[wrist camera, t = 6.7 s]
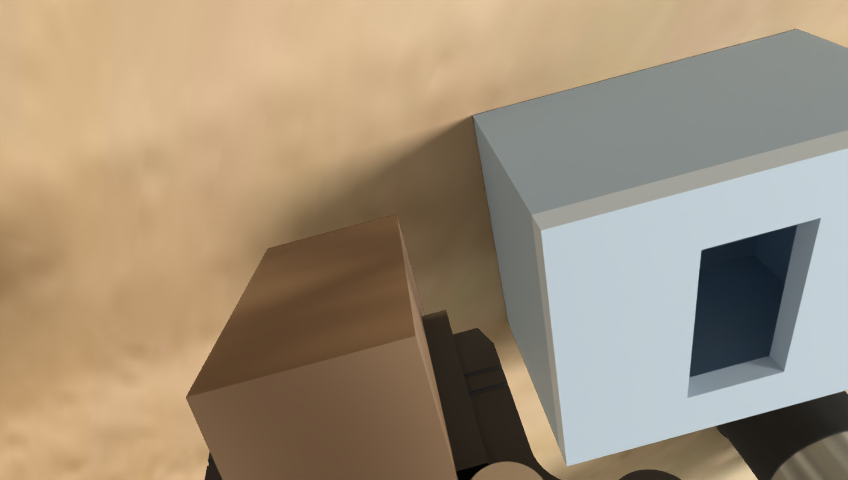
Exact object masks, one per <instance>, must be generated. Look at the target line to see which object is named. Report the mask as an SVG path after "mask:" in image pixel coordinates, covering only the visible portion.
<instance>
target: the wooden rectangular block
mask: <svg viewBox="0 0 848 480" xmlns="http://www.w3.org/2000/svg"><path fill="white" fill-rule="evenodd" d="M422 316H425V315H424V311H423V308H422V304H421V300H420V297H419V293H418V289H417V286H416V282H415V279H414V275H413V271H412V268H411V264H410V261H409V257H408V253H407V250H406V246H405V242H404V239H403V235H402V232H401V228H400V224H399V221H398V217H397V214H396V215H392V216H388V217H384V218H381V219H377V220H373V221H369V222H366V223H362V224H358V225H354V226H351V227H347V228H343V229H339V230H336V231H332V232H328V233H324V234H321V235H317V236H313V237H309V238H306V239H302V240H298V241H294V242H291V243H287V244H283V245H279V246H276V247H272V248H268V249H267V251H266V253H265V255H264V257H263V258H262V260H261V262H260V264H259V266H258V267H257V269H256V271H255V273H254V275H253V276H252V278H251V280H250V282H249V284H248V286H247V287H246V289H245V291H244V293H243V295H242V296H241V298H240V300H239V302H238V304H237V306H236V307H235V309H234V311H233V313H232V315H231V316H230V318H229V320H228V322H227V324H226V325H225V327H224V329H223V331H222V333H221V335H220V336H219V338H218V340H217V342H216V344H215V345H214V347H213V349H212V351H211V353H210V354H209V356H208V358H207V360H206V362H205V364H204V365H203V367H202V369H201V371H200V373H199V374H198V376H197V378H196V380H195V382H194V384H193V385H192V387H191V389H190V391H189V393H188V394H187V396H186V399H187V401H188V403H189V406H190V408H191V410H192V412H193V415H194V417H195V419H196V421H197V424H198V426H199V428H200V430H201V433H202V435H203V437H204V439H205V442H206V444H207V446H208V448H209V451H210V453H211V455H212V457H213V460H214V462H215V464H216V466H217V468H218V471H219V473H220V475H221V477H222V480H459V479H458V476H457V473H456V469H455V465H454V460H453V456H452V451H451V447H450V442H449V438H448V433H447V429H446V425H445V420H444V416H443V411H442V407H441V402H440V398H439V393H438V389H437V384H436V380H435V376H434V371H433V367H432V362H431V358H430V353H429V349H428V344H427V340H426V335H425V331H424V327H423V322H422Z"/></svg>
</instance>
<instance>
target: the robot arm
mask: <svg viewBox="0 0 848 480" xmlns="http://www.w3.org/2000/svg"><path fill="white" fill-rule="evenodd" d="M422 322H423V327H424V331H425V335H426V340H427V344H428V349H429V353H430V358H431V362H432V367H433V371H434V376H435V380H436V384H437V389H438V393H439V398H440V402H441V407H442V411H443V416H444V420H445V425H446V429H447V433H448V438H449V442H450V447H451V451H452V456H453V460H454V465H455V469H456V473H457V476H458V479H459V480H560V479H558V478H556V477H554V476H553V475H551V474H549V473H548V472H547V471H546V470H545V469H543V468H542V466H541V465H540V464H539V463H538V462H537V460H536V459H535V457H534V455H533V453H532V451H531V448H530V445H529V443H528V440H527V437H526V434H525V431H524V428H523V426H522V423H521V420H520V417H519V414H518V411H517V409H516V406H515V403H514V400H513V397H512V394H511V391H510V389H509V386H508V383H507V380H506V377H505V374H504V372H503V369H502V366H501V363H500V360H499V357H498V355H497V352H496V349H495V346H494V343H493V342H491V341H490V340H489V339H488V338H487V337H486V336H485V335H484V334H483V333H482V332H481V331H480V330H479V329H478V328H476V329H472V330H468V331H464V332H461V333H457V334H452V330H451V327H450V323H449V319H448V316H447V312H446V310H444V311H440V312H436V313H433V314H429V315H425V316H422ZM208 462H209V466H207V470H206V476H205V480H222V477H221V475H220V473H219V471H218V468H217V466H216V464H215V462H214V460H213V457H212V455H211V453H209V459H208ZM619 480H681V479H679V478H678V477H676V476H674V475H672V474H669V473H666V472H663V471H658V470H638V471H635V472H631V473H629V474H627V475H625V476H623V477H622V478H621V479H619Z"/></svg>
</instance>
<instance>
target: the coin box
mask: <svg viewBox="0 0 848 480" xmlns="http://www.w3.org/2000/svg"><path fill="white" fill-rule="evenodd" d="M473 119H474V125H475V131H476V137H477V143H478V149H479V154H480V160H481V166H482V172H483V178H484V184H485V189H486V195H487V201H488V207H489V213H490V219H491V224H492V230H493V236H494V242H495V248H496V254H497V259H498V265H499V271H500V277H501V283H502V289H503V294H504V300H505V306H506V312H507V318H508V323H509V326H510V328H511V331H512V333H513V336H514V338H515V341H516V343H517V345H518V348H519V350H520V353H521V355H522V358H523V360H524V363H525V365H526V367H527V370H528V372H529V375H530V377H531V380H532V382H533V385H534V387H535V390H536V392H537V394H538V397H539V399H540V402H541V404H542V407H543V409H544V412H545V414H546V416H547V419H548V421H549V424H550V426H551V429H552V431H553V434H554V436H555V438H556V441H557V443H558V446H559V448H560V451H561V453H562V456H563V458H564V460H565V463H566V465H567V466H570V465H574V464H578V463H581V462H585V461H589V460H592V459H596V458H600V457H603V456H607V455H611V454H614V453H618V452H622V451H625V450H629V449H633V448H636V447H640V446H644V445H647V444H651V443H655V442H658V441H662V440H666V439H669V438H673V437H677V436H680V435H684V434H688V433H692V432H695V431H699V430H703V429H706V428H710V427H714V426H717V425H721V424H725V423H728V422H732V421H736V420H739V419H743V418H747V417H750V416H754V415H758V414H761V413H765V412H769V411H772V410H776V409H780V408H783V407H787V406H791V405H794V404H798V403H802V402H805V401H809V400H813V399H816V398H820V397H824V396H827V395H831V394H835V393H838V392H842V391H846V390H848V48H846V47H843V46H841V45H838V44H836V43H833V42H830V41H828V40H825V39H822V38H820V37H817V36H815V35H812V34H809V33H807V32H804V31H801V30H799V29H795V30H791V31H788V32H784V33H780V34H776V35H773V36H769V37H765V38H761V39H758V40H754V41H750V42H746V43H743V44H739V45H735V46H731V47H728V48H724V49H720V50H716V51H713V52H709V53H705V54H701V55H698V56H694V57H690V58H686V59H682V60H679V61H675V62H671V63H667V64H664V65H660V66H656V67H652V68H649V69H645V70H641V71H637V72H634V73H630V74H626V75H622V76H619V77H615V78H611V79H607V80H604V81H600V82H596V83H592V84H589V85H585V86H581V87H577V88H574V89H570V90H566V91H562V92H559V93H555V94H551V95H547V96H543V97H540V98H536V99H532V100H528V101H525V102H521V103H517V104H513V105H510V106H506V107H502V108H498V109H495V110H491V111H487V112H483V113H480V114H476V115H473Z"/></svg>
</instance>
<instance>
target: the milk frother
mask: <svg viewBox="0 0 848 480" xmlns="http://www.w3.org/2000/svg"><path fill="white" fill-rule="evenodd" d="M716 427H717V429H718V430H719V432H720V433H721V434H722V435H723V436H725V437H727V438H728V439H729V440H730V442H731V443H732V444H733V446H734V447H735V448H736V450H737V451H738V452H739V454H740V455H741V456H742V458H743V459H744V461H745V462H746V463H747V465H748V466H749V468H750V469H751V470H752V472H753V473H754V474H755V476H756V477H757V479H758V480H848V394H847V393H846V392H845V391H842V392H838V393H835V394H831V395H827V396H824V397H820V398H816V399H813V400H809V401H805V402H802V403H798V404H794V405H791V406H787V407H783V408H780V409H776V410H772V411H769V412H765V413H761V414H758V415H754V416H750V417H747V418H743V419H739V420H736V421H732V422H728V423H725V424H721V425H717V426H716Z"/></svg>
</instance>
